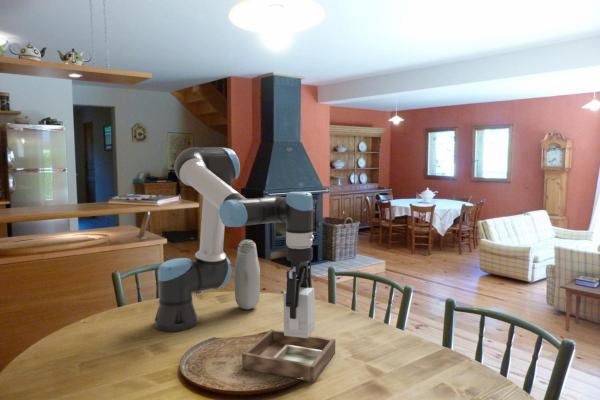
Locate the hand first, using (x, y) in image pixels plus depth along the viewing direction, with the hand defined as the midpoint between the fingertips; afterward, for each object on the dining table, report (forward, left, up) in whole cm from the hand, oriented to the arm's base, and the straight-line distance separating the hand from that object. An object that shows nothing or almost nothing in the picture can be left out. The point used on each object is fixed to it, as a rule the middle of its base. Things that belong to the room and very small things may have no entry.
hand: (299, 323), depth 132 cm
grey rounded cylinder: (-38, +40, -13) cm, 57 cm away
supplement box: (0, 0, -3) cm, 3 cm away
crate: (-4, +3, -13) cm, 14 cm away
